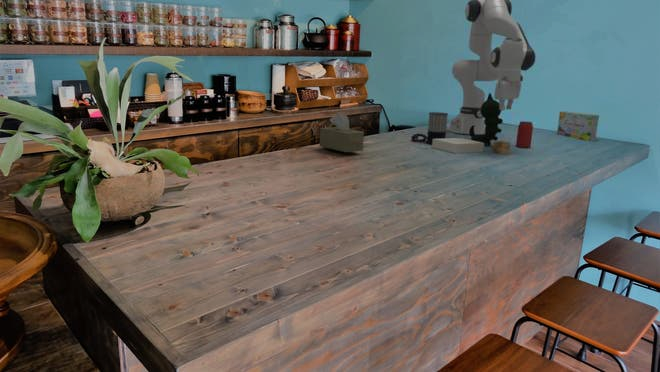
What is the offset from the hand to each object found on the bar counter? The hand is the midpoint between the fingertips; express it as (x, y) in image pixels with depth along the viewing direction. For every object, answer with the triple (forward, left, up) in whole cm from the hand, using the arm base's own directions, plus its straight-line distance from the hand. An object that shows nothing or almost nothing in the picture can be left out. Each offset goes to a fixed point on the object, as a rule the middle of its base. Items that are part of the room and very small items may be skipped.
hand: (505, 109), depth 218 cm
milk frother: (-33, -14, -19) cm, 41 cm away
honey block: (0, 0, -19) cm, 19 cm away
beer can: (-12, +26, -19) cm, 34 cm away
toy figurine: (-22, +10, -19) cm, 31 cm away
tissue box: (-28, -65, -19) cm, 73 cm away
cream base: (-12, -14, -19) cm, 26 cm away
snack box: (-23, +76, -19) cm, 82 cm away
